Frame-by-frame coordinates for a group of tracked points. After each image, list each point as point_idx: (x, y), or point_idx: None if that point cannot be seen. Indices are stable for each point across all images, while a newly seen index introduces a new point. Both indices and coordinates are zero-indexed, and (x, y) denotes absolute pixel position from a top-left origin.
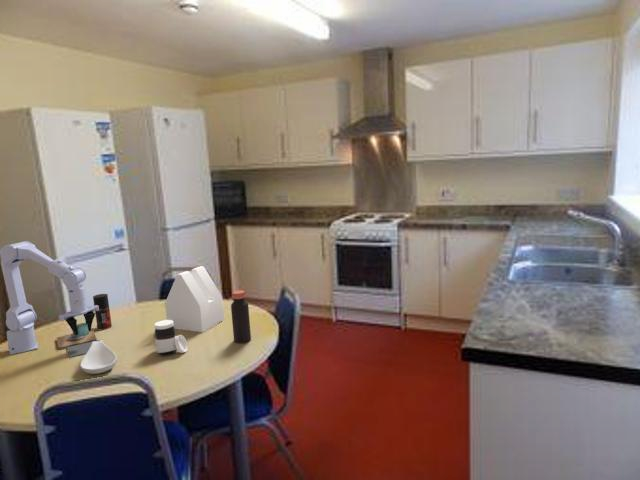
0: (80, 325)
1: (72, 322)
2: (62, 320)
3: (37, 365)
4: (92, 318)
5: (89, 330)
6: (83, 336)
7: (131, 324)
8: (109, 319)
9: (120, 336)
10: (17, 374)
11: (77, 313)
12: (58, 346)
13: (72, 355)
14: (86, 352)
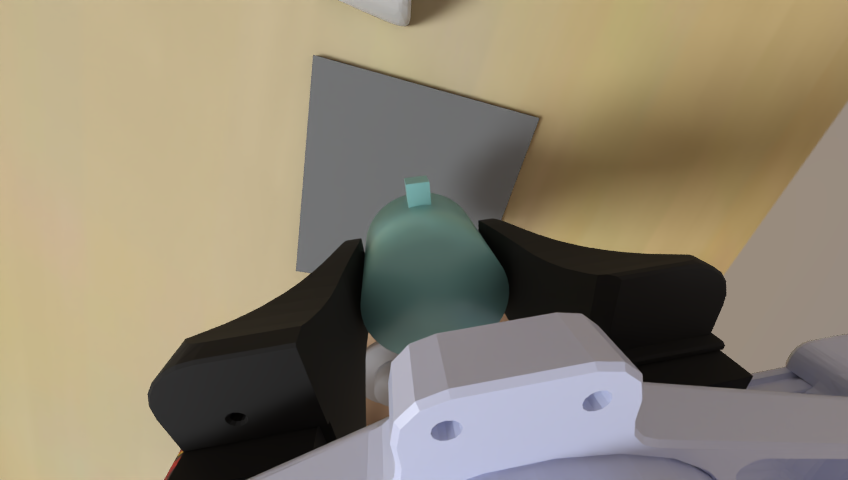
0: (452, 288)
1: (649, 258)
2: (842, 340)
3: (676, 159)
4: (271, 307)
5: (360, 239)
6: (367, 353)
7: (64, 392)
8: (173, 470)
9: (150, 241)
10: (793, 111)
11: (680, 419)
12: (504, 320)
13: (513, 125)
14: (431, 96)
